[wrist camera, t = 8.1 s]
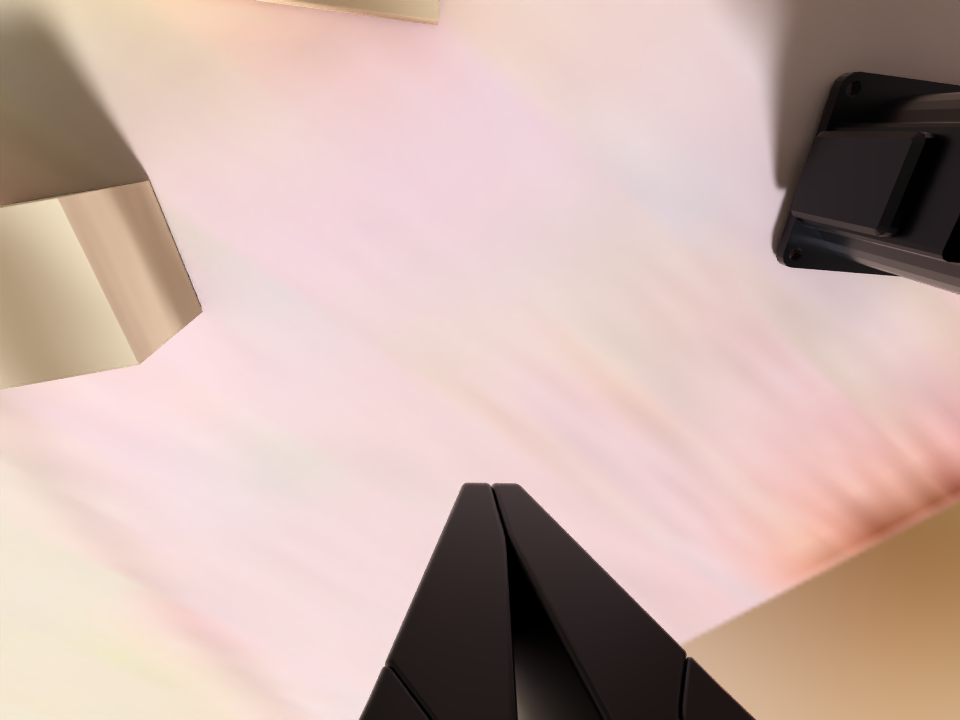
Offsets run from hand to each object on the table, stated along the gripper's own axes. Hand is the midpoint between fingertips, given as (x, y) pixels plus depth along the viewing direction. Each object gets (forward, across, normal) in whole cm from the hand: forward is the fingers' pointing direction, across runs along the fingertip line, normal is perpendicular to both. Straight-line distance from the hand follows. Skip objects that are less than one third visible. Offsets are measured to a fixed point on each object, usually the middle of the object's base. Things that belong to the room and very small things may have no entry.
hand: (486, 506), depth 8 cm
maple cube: (+12, +12, 0) cm, 17 cm away
